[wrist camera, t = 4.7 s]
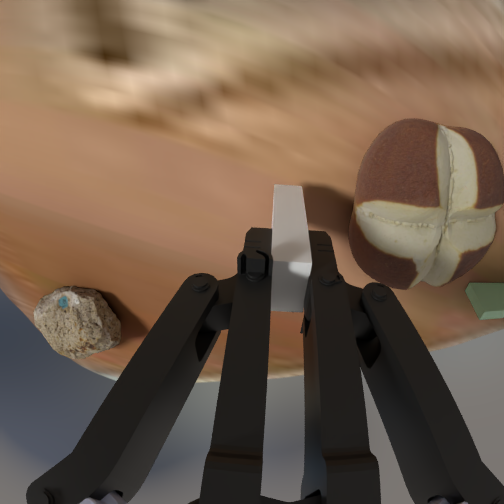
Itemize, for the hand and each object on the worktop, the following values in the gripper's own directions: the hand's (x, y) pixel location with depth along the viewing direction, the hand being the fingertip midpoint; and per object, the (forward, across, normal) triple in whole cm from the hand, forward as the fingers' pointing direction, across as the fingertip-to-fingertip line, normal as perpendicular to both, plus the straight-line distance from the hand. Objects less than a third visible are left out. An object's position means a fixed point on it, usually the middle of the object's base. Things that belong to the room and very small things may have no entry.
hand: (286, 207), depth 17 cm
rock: (+2, -20, -14) cm, 24 cm away
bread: (+2, +9, 0) cm, 10 cm away
